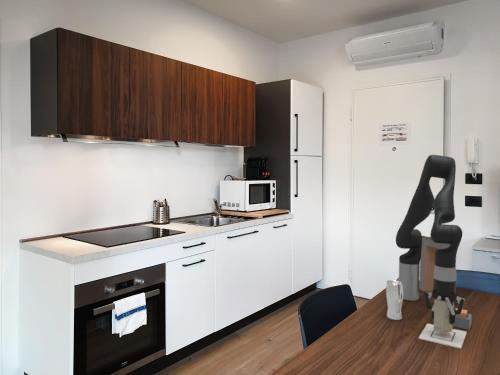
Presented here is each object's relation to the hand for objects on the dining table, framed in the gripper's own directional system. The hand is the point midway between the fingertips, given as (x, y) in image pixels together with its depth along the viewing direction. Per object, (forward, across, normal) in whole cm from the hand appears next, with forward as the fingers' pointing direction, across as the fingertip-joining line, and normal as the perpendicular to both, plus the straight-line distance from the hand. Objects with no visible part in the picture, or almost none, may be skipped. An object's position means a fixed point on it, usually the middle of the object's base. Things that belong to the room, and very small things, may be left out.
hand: (443, 321), depth 150 cm
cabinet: (+6, -8, +50) cm, 51 cm away
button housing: (+5, +4, +15) cm, 16 cm away
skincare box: (+4, 0, 0) cm, 4 cm away
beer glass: (+6, -20, +8) cm, 22 cm away
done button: (+2, +4, +15) cm, 16 cm away
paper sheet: (+5, 0, 0) cm, 5 cm away
